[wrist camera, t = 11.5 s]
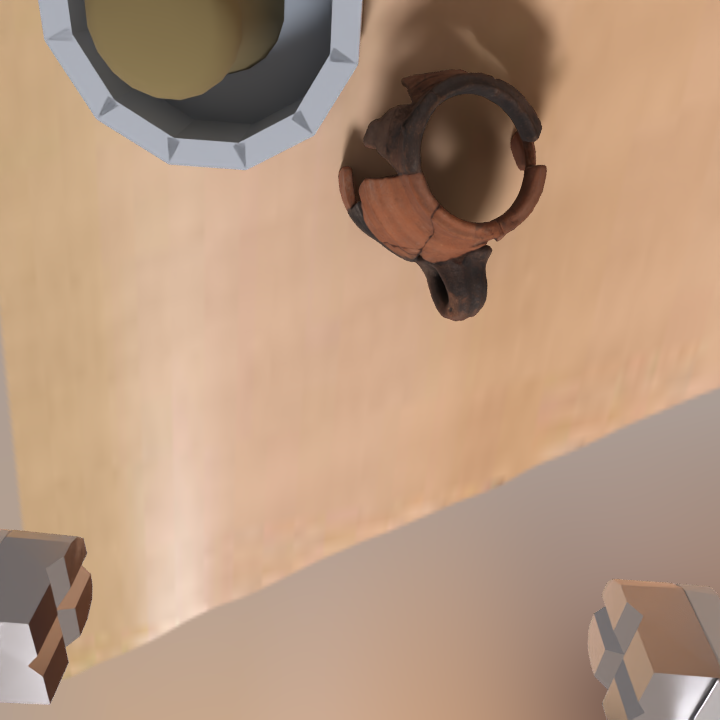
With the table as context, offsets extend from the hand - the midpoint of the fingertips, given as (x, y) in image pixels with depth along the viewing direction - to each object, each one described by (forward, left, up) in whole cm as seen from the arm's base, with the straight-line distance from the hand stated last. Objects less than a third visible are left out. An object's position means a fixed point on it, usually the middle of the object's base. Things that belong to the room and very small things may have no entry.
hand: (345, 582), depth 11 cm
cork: (+7, -6, -28) cm, 29 cm away
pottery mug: (-4, +2, -29) cm, 29 cm away
